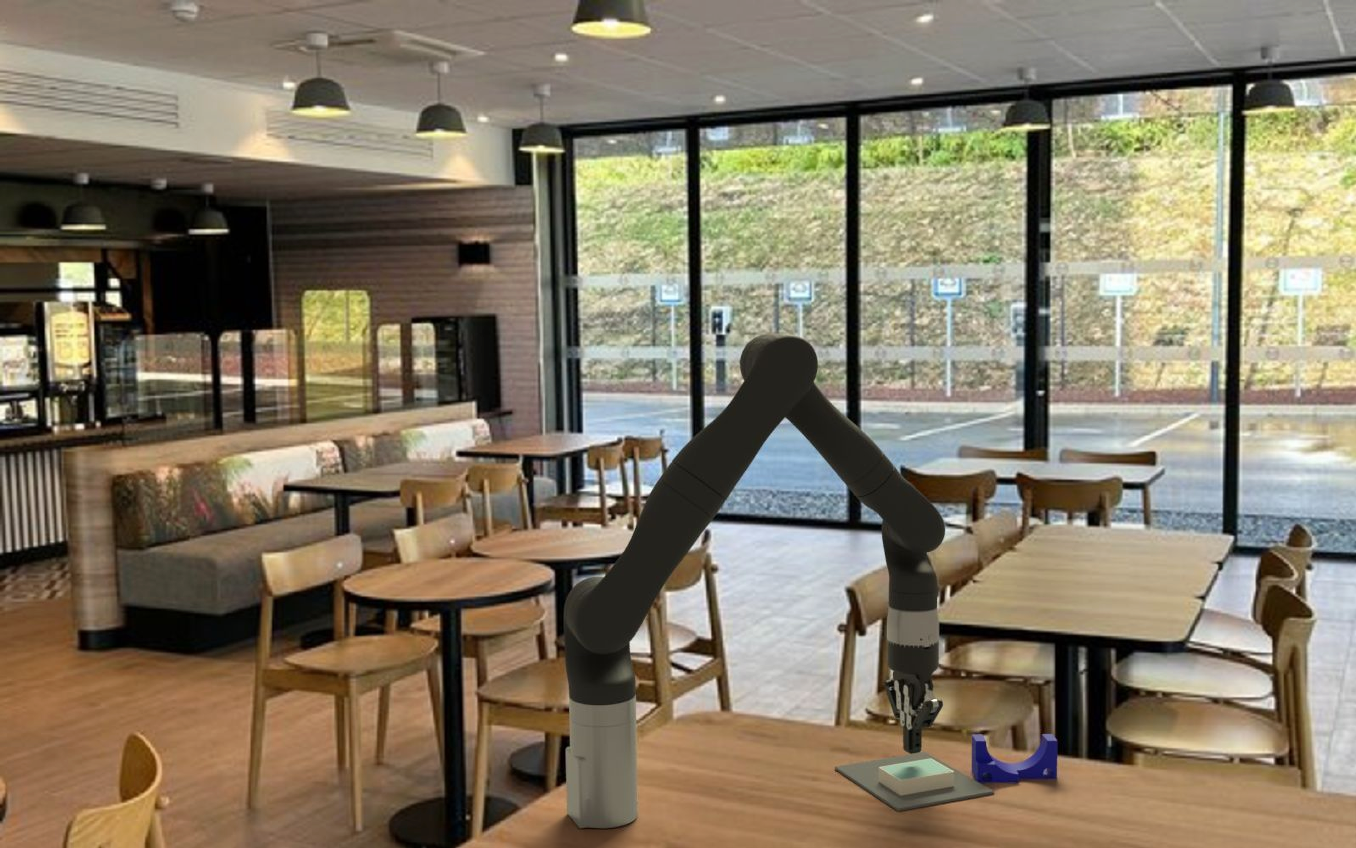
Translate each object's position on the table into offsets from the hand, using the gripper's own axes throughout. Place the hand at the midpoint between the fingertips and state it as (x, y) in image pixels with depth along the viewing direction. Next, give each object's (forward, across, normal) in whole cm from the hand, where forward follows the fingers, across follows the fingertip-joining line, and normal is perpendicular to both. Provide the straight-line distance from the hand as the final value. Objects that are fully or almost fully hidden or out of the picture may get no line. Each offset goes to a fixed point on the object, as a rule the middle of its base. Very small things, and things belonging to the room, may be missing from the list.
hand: (912, 751), depth 195 cm
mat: (+4, 0, 0) cm, 4 cm away
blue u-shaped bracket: (+5, +5, +15) cm, 16 cm away
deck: (+3, -1, -1) cm, 3 cm away
